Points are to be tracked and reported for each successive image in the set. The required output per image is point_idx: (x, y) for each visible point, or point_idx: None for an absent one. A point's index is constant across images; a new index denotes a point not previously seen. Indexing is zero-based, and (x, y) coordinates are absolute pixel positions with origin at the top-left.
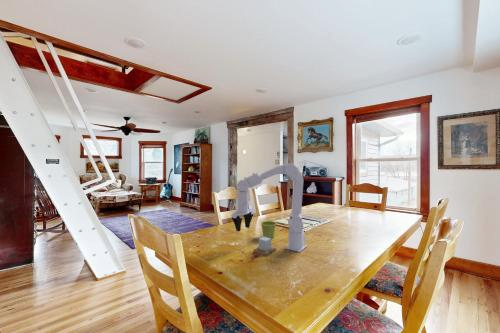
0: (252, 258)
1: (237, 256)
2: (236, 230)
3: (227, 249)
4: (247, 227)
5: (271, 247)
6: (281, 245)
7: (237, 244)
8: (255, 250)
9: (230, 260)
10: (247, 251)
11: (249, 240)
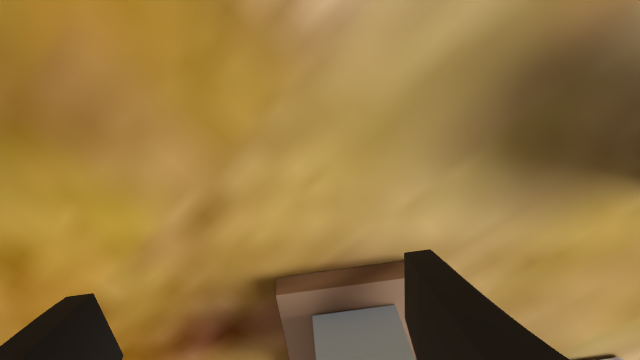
0: (184, 339)
1: (103, 248)
2: (59, 311)
3: (111, 44)
4: (405, 303)
5: (414, 352)
6: (542, 325)
7: (316, 11)
8: (279, 307)
9: (3, 265)
10: (250, 233)
11: (525, 26)
